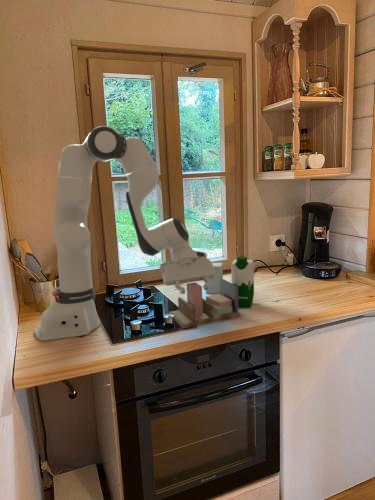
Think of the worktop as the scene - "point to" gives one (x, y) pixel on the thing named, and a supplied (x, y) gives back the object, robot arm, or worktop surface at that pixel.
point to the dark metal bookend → (230, 293)
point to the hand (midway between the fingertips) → (195, 291)
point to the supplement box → (215, 279)
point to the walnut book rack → (188, 319)
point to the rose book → (195, 298)
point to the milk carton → (243, 280)
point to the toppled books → (220, 304)
